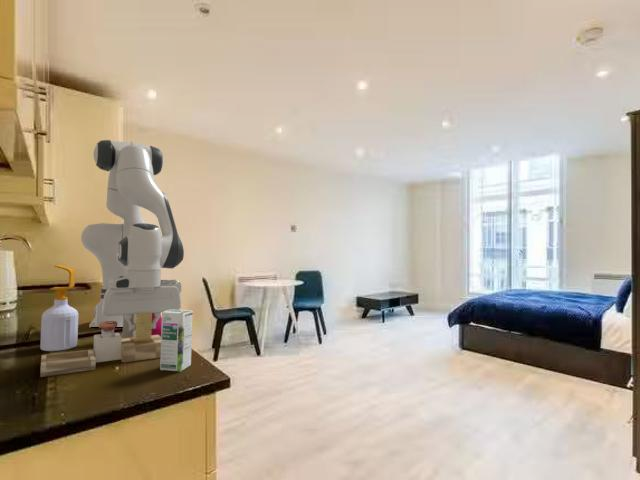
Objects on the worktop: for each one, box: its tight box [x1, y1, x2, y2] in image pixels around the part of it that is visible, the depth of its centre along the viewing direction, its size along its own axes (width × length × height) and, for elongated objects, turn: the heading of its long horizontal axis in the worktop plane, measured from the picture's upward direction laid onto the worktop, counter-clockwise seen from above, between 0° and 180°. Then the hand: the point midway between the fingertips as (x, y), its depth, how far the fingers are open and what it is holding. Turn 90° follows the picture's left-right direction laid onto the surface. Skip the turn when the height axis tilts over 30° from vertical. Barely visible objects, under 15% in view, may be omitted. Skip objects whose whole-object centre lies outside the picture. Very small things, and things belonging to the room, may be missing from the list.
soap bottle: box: [39, 264, 79, 352], centre depth 114 cm, size 9×9×25 cm
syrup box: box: [159, 309, 194, 372], centre depth 98 cm, size 6×6×14 cm
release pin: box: [98, 321, 117, 338], centre depth 105 cm, size 4×4×9 cm
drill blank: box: [133, 313, 152, 343], centre depth 109 cm, size 4×4×12 cm
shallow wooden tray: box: [39, 348, 97, 378], centre depth 96 cm, size 11×11×2 cm
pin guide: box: [92, 332, 122, 363], centre depth 105 cm, size 6×6×6 cm
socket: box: [120, 335, 161, 363], centre depth 109 cm, size 11×11×4 cm
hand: (142, 329), depth 109 cm, fingers closed on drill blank, 4 cm apart
